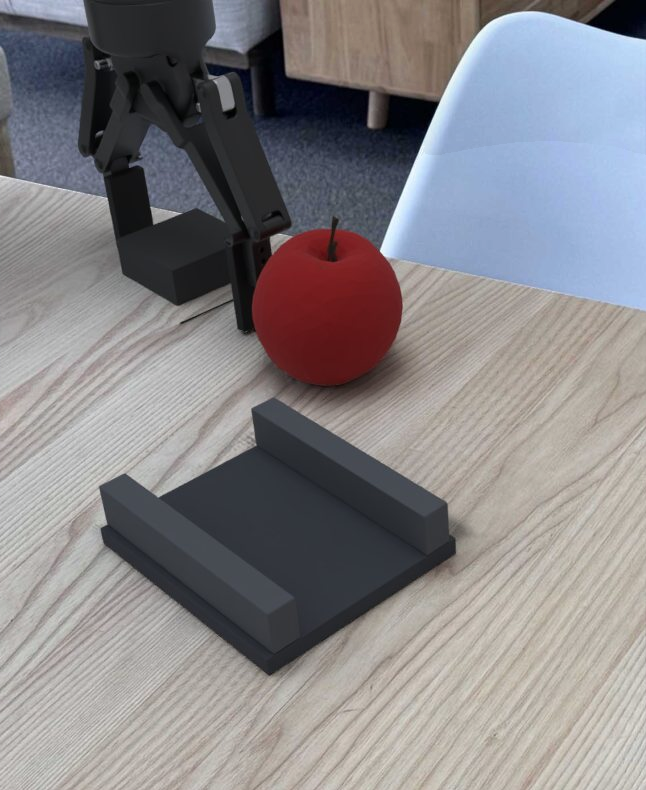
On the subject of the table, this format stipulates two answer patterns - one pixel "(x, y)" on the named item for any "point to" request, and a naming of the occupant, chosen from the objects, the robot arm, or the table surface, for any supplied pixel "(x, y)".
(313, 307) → the apple
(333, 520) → the base pad
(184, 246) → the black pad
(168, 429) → the table surface
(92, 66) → the robot arm
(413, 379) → the table surface
